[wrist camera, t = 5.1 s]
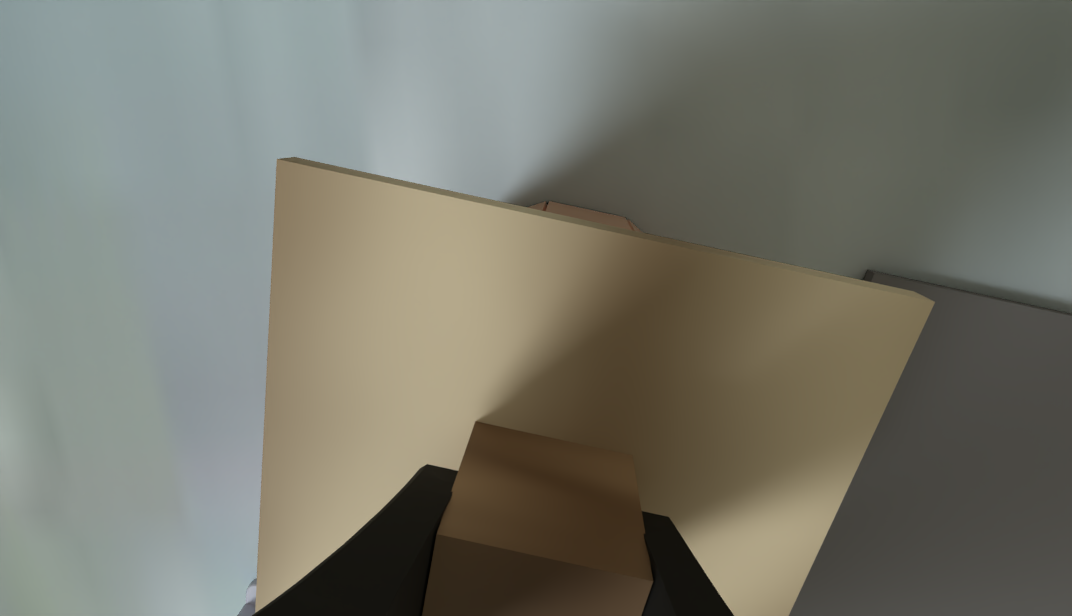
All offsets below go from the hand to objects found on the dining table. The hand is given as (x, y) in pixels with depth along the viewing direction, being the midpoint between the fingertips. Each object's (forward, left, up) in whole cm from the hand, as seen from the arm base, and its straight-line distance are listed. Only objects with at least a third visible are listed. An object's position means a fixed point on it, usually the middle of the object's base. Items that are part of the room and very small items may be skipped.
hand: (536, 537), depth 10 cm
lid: (0, 0, -2) cm, 2 cm away
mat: (+15, -2, -9) cm, 17 cm away
